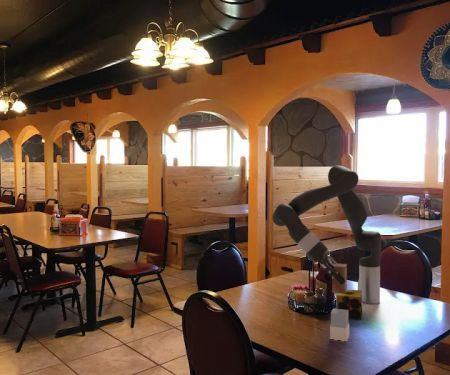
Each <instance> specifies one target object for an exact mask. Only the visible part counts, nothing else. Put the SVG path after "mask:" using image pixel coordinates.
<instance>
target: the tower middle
mask: <svg viewBox="0 0 450 375" xmlns="http://www.w3.org/2000/svg"><path fill="white" fill-rule="evenodd" d="M348 323H349V319H348V310H343V309H337V308H333V309H332V310H331V312H330V326H333V327H340V328H347V325H348Z"/></svg>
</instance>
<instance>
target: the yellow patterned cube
mask: <svg viewBox="0 0 450 375" xmlns="http://www.w3.org/2000/svg"><path fill="white" fill-rule="evenodd" d="M336 309H343V310H348V320H359V321H362V318H363V303H362V290H358V289H348V288H347V291H346V293H345V294H340V293H336Z"/></svg>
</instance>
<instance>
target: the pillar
mask: <svg viewBox="0 0 450 375" xmlns="http://www.w3.org/2000/svg"><path fill="white" fill-rule="evenodd" d="M337 263H338V262H337ZM337 263H336V264H334V266H335V269H336V270H337V271H338V274H340V275H341V276H342V277H343V278H344V279H345V280H346V281H345V283H344V284H342V285H341V284H340V283H339V282H338V281H337V280H336V279H335V278H333V277H331V282H332V283H331V284H332V287H331V288H332V289H331V292H332V293H333V294H337V293H340V294H345V293H346V291H347V289H348V288H347V287H348V284H347V282H348V278H347V277H348V274H347V272H348V270H347V268H348V267H347V266H348V264H347V263H338V264H337ZM332 293H331V294H332Z"/></svg>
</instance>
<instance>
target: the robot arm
mask: <svg viewBox="0 0 450 375" xmlns="http://www.w3.org/2000/svg"><path fill="white" fill-rule="evenodd" d="M327 180H328V183H329V184H328V185H326V186H325V185H324V186H322V187H321V186H320V187H316V188H312V189H308V190H306V191H304V192H302V193H300V194H299V195H296V196H295V197H293V199H292V200H291V201H290V202H289V203H280V204H279V205H278V206H276V208H275V209H274V210H273V214H272V218H271V219H272V222H273V223H274V224H275V225H276V226H278V227H286V229H287V230H288V235H289V236H290V238H291V239H292V240H293V241H294V243H296V244H297V246H298V247H299V248H300V250H302V252H303V253H304V254H305V255H306V256H307V257H308V258H309V260H311V262H313V263H315V262H316V261H318V262H319V264H320V265H319V268H320V269H321V270H322V271H324V272H325V273H326V274H327V276H329V277H330V278H332V277H333V278H335V279H336V280H337V281H338V282H339V283H340V284H341V285H342V284H344V283H345V281H346V280H345V279H344V278H343V277H342V276H341V275H340V274H338V271H337V270H336V269H335V266H334V264H336V263H337V264H339V263H338V262H337V261H336V259H335V258H334V257H333V255H328V254H327V251H328V250H329V248H328V247H327V246H326V245H325V244H324V242H322V241H321V240H320V239H319V237H317V236H316V234H314V233H313V232H312V231H311V230H310V229H309V228H308V227H307V226H306V225H305V224H304V223H303V221H302V220H301V218H300V216H301V215H303V214H305V213H306V212H308V211H310V210H311V209H313V208H315V207H316V206H318V205H320V204H322V203H324V202H326V201H329V200H333V198H336V197H337V199H338V203H339V204H340V206H341V208H342V210H343V213H344V216H345V218H346V219H347V222H348V225H349V227H350V229H351V232H352V236H353V239H354V242H355V245H356V247H357V249H359V250H361V251H366V252H370V255H369V256H364V257H360V258H359V261H358V263H359V268H358V270H359V274H358V275H359V279H358V280H357V290H362V304H367V305H378V304H379V303H380V302H381V254H382V253H381V252H382V236H381V233H380V232H379V231H371V230H370V231H369V230H364V229H363V226H364V224H365V223H366V222H367V219H368V211H367V208H366V206H365V203H364V202H363V200H362V199H361V197H360V196H359V194H357V193H356V191H354V189H355V188H356V187H357V185H358V183H359V175H358V174H357V172H356V171H354V170H352V169H350V168H348V167H345V166H344V165H339V164H338V165H333V166H332V167H330V169H329V170H328V172H327ZM348 278H349V276H347V279H348Z"/></svg>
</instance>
